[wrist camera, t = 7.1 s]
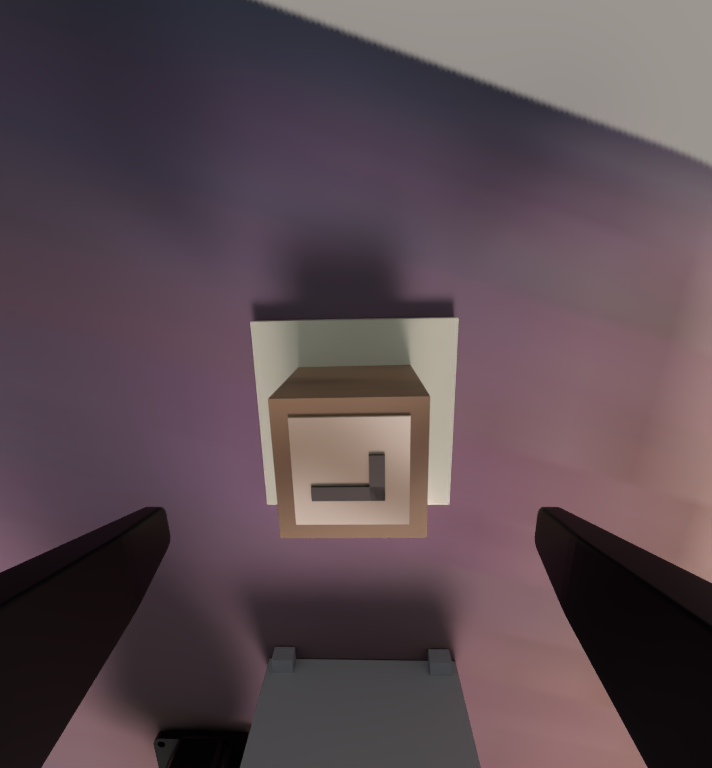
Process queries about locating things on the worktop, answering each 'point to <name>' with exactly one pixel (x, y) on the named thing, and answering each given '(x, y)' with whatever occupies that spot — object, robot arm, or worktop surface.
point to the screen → (360, 714)
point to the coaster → (364, 348)
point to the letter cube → (351, 452)
